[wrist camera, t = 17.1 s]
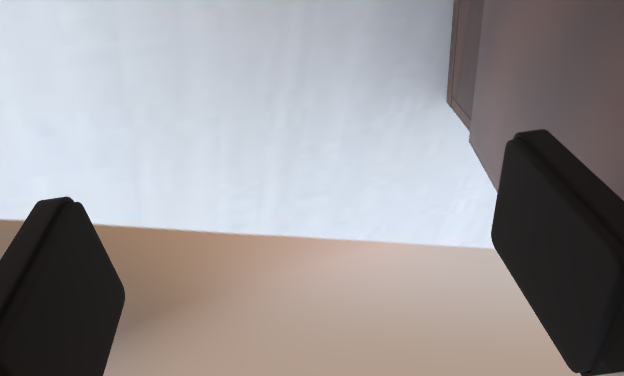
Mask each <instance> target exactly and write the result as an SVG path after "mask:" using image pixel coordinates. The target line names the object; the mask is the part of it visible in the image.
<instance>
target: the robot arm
mask: <svg viewBox="0 0 624 376" xmlns="http://www.w3.org/2000/svg"><path fill="white" fill-rule="evenodd" d="M491 237H492V242H493V245H494V247H495V249H496V251H497V252H498V254H499V255H500V257H501V259H502V260H503V262H504V263H505V265H506V267H507V268H508V270H509V272H510V273H511V275H512V276H513V278H514V280H515V281H516V283H517V285H518V286H519V288H520V289H521V291H522V293H523V294H524V296H525V298H526V299H527V301H528V302H529V304H530V306H531V307H532V309H533V310H534V312H535V314H536V315H537V317H538V318H539V320H540V322H541V323H542V325H543V327H544V328H545V330H546V331H547V333H548V335H549V336H550V338H551V339H552V341H553V343H554V344H555V346H556V347H557V349H558V351H559V352H560V354H561V356H562V357H563V359H564V361H565V362H566V364H567V365H568V367H569V368H570V369H571V370H572V371H573V372H575V373H580V374H581V375H582V376H624V201H623V200H622V199H621V198H620V197H619V196H618V195H617V194H616V193H615V192H614V191H612V190H611V189H610V188H609V187H608V186H607V185H606V184H605V183H604V182H603V181H602V180H601V179H599V178H598V177H597V176H596V175H595V174H594V173H593V172H592V171H591V170H590V169H589V168H588V167H586V166H585V165H584V164H583V163H582V162H581V161H580V160H579V159H578V158H577V157H576V156H575V155H573V154H572V153H571V152H570V151H569V150H568V149H567V148H566V147H565V146H564V145H563V144H562V143H560V142H559V141H558V140H557V139H556V138H555V137H554V136H553V135H552V134H551V133H550V132H549V131H547V130H545V129H539V130H532V131H525V132H518V133H516V134H515V135H514V137H513V140H509V141H508V142H507V143H506V146H505V152H504V158H503V164H502V170H501V176H500V182H499V188H498V194H497V200H496V206H495V212H494V219H493V225H492V231H491ZM124 301H125V291H124V287H123V285H122V283H121V281H120V279H119V277H118V275H117V273H116V271H115V269H114V267H113V265H112V263H111V261H110V259H109V257H108V255H107V253H106V251H105V249H104V247H103V245H102V243H101V241H100V239H99V237H98V235H97V233H96V231H95V229H94V227H93V225H92V223H91V221H90V219H89V217H88V215H87V213H86V211H85V209H84V207H83V205H82V204H81V203H80V202H74V201H73V200H72V199H71V198H70V197H61V198H54V199H47V200H41V201H38V202H37V203H36V205H35V206H34V208H33V209H32V211H31V212H30V214H29V216H28V217H27V219H26V220H25V222H24V224H23V225H22V227H21V228H20V230H19V232H18V233H17V235H16V236H15V238H14V239H13V241H12V242H11V244H10V246H9V247H8V249H7V250H6V252H5V253H4V255H3V257H2V258H1V260H0V376H103V374H104V370H105V367H106V363H107V359H108V357H109V353H110V349H111V346H112V343H113V340H114V336H115V333H116V329H117V326H118V323H119V319H120V316H121V312H122V309H123V306H124Z"/></svg>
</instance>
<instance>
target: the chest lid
mask: <svg viewBox="0 0 624 376" xmlns="http://www.w3.org/2000/svg"><path fill="white" fill-rule="evenodd" d="M539 129H545V130H547V131H549V132H550V133H551V134H552V135H553V136H554V137H555V138H556V139H557V140H558V141H559V142H560V143H562V144H563V145H564V146H565V147H566V148H567V149H568V150H569V151H570V152H571V153H572V154H573V155H575V156H576V157H577V158H578V159H579V160H580V161H581V162H582V163H583V164H584V165H585V166H586V167H588V168H589V169H590V170H591V171H592V172H593V173H594V174H595V175H596V176H597V177H598V178H599V179H601V180H602V181H603V182H604V183H605V184H606V185H607V186H608V187H609V188H610V189H611V190H612V191H614V192H615V193H616V194H617V195H618V196H619V197H620V198H621V199H622V200H623V201H624V0H484V9H483V18H482V27H481V36H480V45H479V54H478V63H477V72H476V81H475V90H474V99H473V108H472V117H471V126H470V135H469V143H470V144H471V146H472V148H473V150H474V152H475V153H476V155H477V157H478V159H479V161H480V162H481V164H482V166H483V168H484V169H485V171H486V173H487V175H488V177H489V178H490V180H491V182H492V184H493V186H494V187H495V189H496V191H497V193H498V188H499V182H500V176H501V170H502V164H503V158H504V152H505V146H506V143H507V142H508V141H509V140H513V137H514V135H515V134H516V133H518V132H525V131H532V130H539Z"/></svg>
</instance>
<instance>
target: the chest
mask: <svg viewBox="0 0 624 376" xmlns="http://www.w3.org/2000/svg"><path fill="white" fill-rule="evenodd" d="M483 9H484V0H454V10H453V23H452V37H451V50H450V64H449V77H448V91H447V103H448V105H449V106H450V107H451V108H452V109H453V111H454V112H455V113H456V115H457V116H458V117H459V118H460V120H461V121H462V122H463V124H464V125H465V126H466V127H467V129H468V130H469V131H470V126H471V117H472V108H473V99H474V90H475V81H476V72H477V63H478V54H479V45H480V36H481V27H482V18H483Z"/></svg>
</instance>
